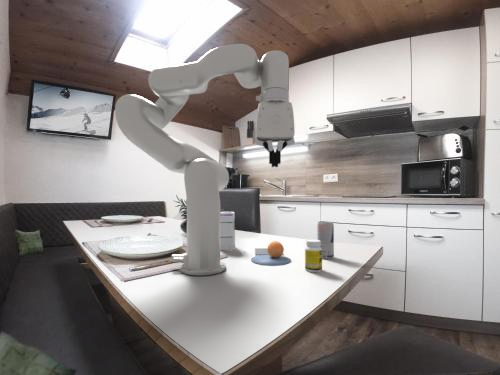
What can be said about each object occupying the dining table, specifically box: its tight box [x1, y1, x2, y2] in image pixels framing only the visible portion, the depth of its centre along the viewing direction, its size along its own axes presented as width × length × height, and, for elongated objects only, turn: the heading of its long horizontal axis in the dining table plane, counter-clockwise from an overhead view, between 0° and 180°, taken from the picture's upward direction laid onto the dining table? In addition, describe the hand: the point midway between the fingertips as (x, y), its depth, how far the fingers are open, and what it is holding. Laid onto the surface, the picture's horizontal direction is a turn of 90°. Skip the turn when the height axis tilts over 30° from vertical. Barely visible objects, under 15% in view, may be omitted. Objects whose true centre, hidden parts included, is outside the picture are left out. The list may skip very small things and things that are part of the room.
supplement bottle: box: [304, 239, 323, 273], centre depth 74 cm, size 5×5×8 cm
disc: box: [250, 255, 292, 267], centre depth 85 cm, size 13×13×1 cm
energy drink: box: [316, 220, 335, 260], centre depth 89 cm, size 5×5×12 cm
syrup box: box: [220, 211, 236, 251], centre depth 102 cm, size 6×6×14 cm
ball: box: [267, 240, 285, 258], centre depth 88 cm, size 6×6×6 cm
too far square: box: [254, 247, 284, 256], centre depth 97 cm, size 10×10×1 cm
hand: (274, 166), depth 71 cm, fingers closed
